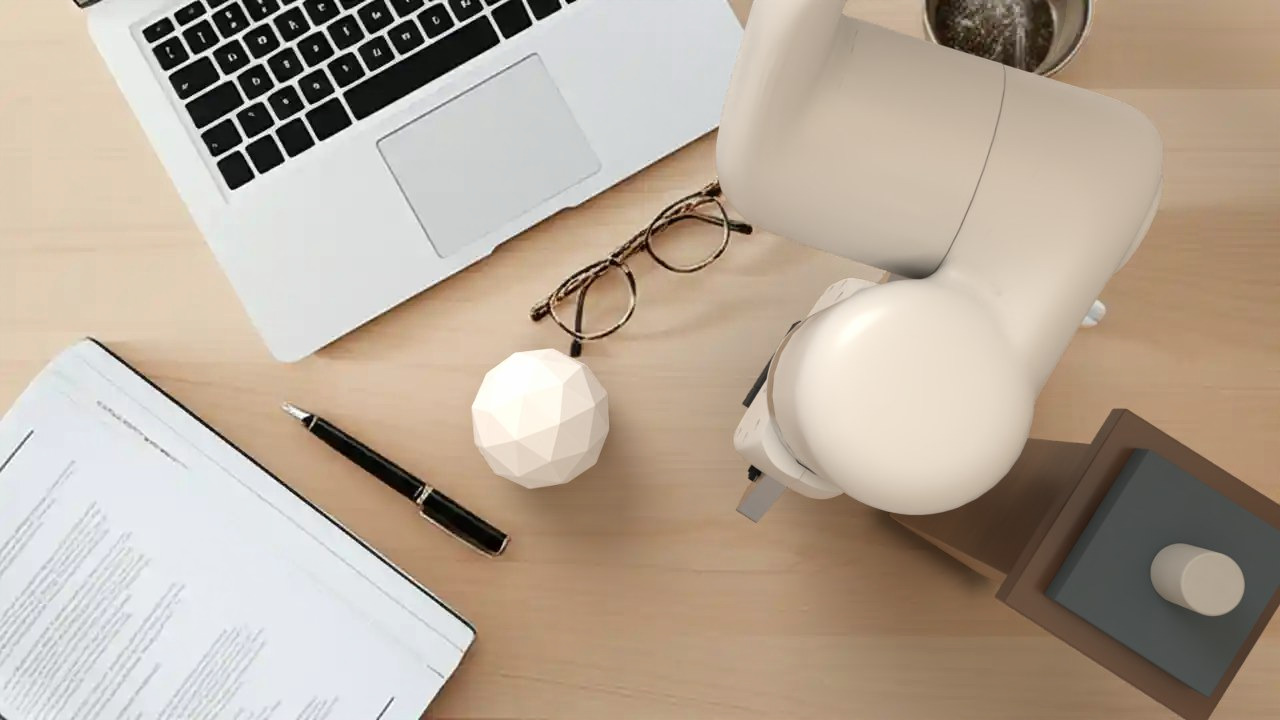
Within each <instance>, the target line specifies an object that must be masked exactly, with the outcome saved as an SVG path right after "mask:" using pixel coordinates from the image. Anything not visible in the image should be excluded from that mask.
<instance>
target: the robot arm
mask: <svg viewBox="0 0 1280 720" xmlns="http://www.w3.org/2000/svg"><path fill="white" fill-rule="evenodd" d="M847 2H848V0H752V5H751V8H750V12H749V14H748V18H747V22H746V24H745V28H744V32H743V35H742V38H741V42H740V45H739V49H738V52H737V56H736V59H735V63H734V65H733V69H732V72H731V76H730V79H729V83H728V86H727V89H726V94H725V97H724V100H723V101H724V102H723V104H722V109H721V113H720V120H719V125H718V132H717V138H716V144H715V166H716V175H717V180H718V183H719V184H718V185H719V187H720V191H721V193H722V194H723V196H724V198H725V201H726V202H727V203H728V205H730V207H731V208H732V209H733V210H734V212H736V213H737V214H738V215H739V216H740V217H741V218H742V219H743V220H744V221H746V222H747V223H749V224H751V225H752V226H754V227H756V228H758V229H759V230H762V231H763V232H764V231H765V232H766V233H770V234H771V235H775V236H778V237H780V238H783V239H786V240H788V241H791V242H794V243H797V244H799V245H803V246H805V247H809V248H812V249H815V250H817V251H822V252H823V253H826V254H827V253H828V254H830V255H833V256H837V257H840V258H843V259H847V260H850V261H854V262H856V263H860V264H862V265H866V266H869V267H873V268H875V269H879V270H882V271H884V272H885V273H884V274H883V275H882V276H881V278H880V279H879V280H878V283H877V282H874V281H871V280H867V279H863V278H857V277H847V278H844V279H840V280H838V281H836V282H835V283H833V284H830V286H828V287H827V288H826V289H825V291H824V292H823V293H822V295H821V296H820V297H819V298H818V300H817V301H816V302H815V304H814V305H813V307H812V308H811V310H810V312H809V313H808V314H807V316H806V317H805V318H804V319H803V320H800V321H801V322H800V323H799V324H798V325H796V326H795V327H794V328H793V329H792V330H791V331H790V333H789V334H788V335H787V336H786V337H785V336H784V337H785V338H784V337H783V339H782V340H781V342H780V343H781V344H780V343H779V345H778V346H779V347H778V346H777V348H776V349H775V351H776V352H775V351H774V353H775V354H774V353H773V354H774V357H773V359H772V361H771V364H770V367H769V371H768V375H767V380H766V381H765V383H764V384H763V386H762V388H761V389H760V391H759V392H758V394H757V395H756V397H755V399H754V400H753V402H752V403H751V405H750V407H749V408H747V410H746V411H745V413H744V415H743V416H742V418H741V420H740V421H739V424H738V425H737V428H736V429H735V431H734V434H733V440H732V441H733V443H732V444H733V449H734V451H735V453H737V454H738V455H739V456H740V457H741V458H742V459H744V460H745V461H746V462H747V463H748V464H750V466H749V467H748V469H747V472H748V475H747V479H748V480H749V481H751V482H750V483H749V484H748V485H747V487H746V489H745V490H744V493H743V494H742V496H741V498H740V500H739V502H738V504H737V506H736V508H735V511H736V512H737V513H739V514H741V515H742V516H744V517H745V518H747V519H749V520H750V521H752V522H753V523H755V524H757V523H758V522H759V521H760V520H761V518H762V517H763V516H764V515H765V514H766V513H767V512H768V510H769V509H770V508H771V507H772V506H773V505H774V504H775V503H776V501H777V500H778V499H779V498H780V497H781V496H782V495H783V493H785V491H786V490H788V488H789V489H790V490H791V491H793V492H796V493H797V494H799V495H802V496H804V497H806V498H809V499H813V500H814V499H815V500H827V499H832V498H835V497H838V496H841V495H842V494H846V495H848V496H849V497H850V498H852V499H854V500H856V501H858V502H860V503H862V504H864V505H866V506H869V507H872V508H875V509H878V510H882V511H885V512H889V513H890V512H893V513H898V514H907V515H926V514H935V513H940V512H945V511H948V510H952V509H955V508H958V507H960V506H962V505H964V504H967V503H969V502H971V501H973V500H975V499H977V498H978V497H980V496H981V495H983V494H984V493H986V492H987V491H988V490H990V489H991V488H993V487H994V486H995V485H996V484H997V483H998V482H999V481H1000V480H1001V479H1002V478H1003V477H1004V476H1005V475H1006V474H1007V473H1008V472H1009V470H1010V469H1011V468H1012V466H1013V465H1014V463H1015V462H1016V460H1017V459H1018V458H1019V456H1020V454H1021V452H1022V450H1023V448H1024V445H1025V443H1026V441H1027V439H1028V438H1029V437H1030V432H1031V428H1032V424H1033V420H1034V416H1035V404H1036V403H1037V400H1038V399H1039V396H1040V394H1041V393H1042V391H1043V390H1044V387H1045V386H1046V384H1047V382H1048V381H1049V379H1050V377H1051V375H1052V374H1053V372H1054V371H1055V369H1056V367H1057V365H1058V364H1059V362H1060V360H1061V358H1062V357H1063V355H1064V354H1065V352H1066V350H1067V349H1068V347H1069V345H1070V343H1071V342H1072V340H1073V338H1074V337H1075V335H1076V334H1077V332H1078V330H1079V329H1080V327H1081V325H1082V324H1083V322H1084V320H1085V319H1086V317H1087V316H1088V314H1089V313H1090V311H1091V309H1092V308H1093V306H1094V304H1095V303H1096V301H1097V300H1098V298H1099V296H1100V295H1101V294H1102V292H1103V291H1104V289H1105V287H1106V286H1107V284H1108V283H1109V281H1110V280H1111V278H1112V277H1113V276H1114V275H1116V274H1117V272H1119V271H1120V270H1122V268H1123V267H1124V266H1125V265H1126V264H1127V262H1128V261H1129V260H1130V259H1131V258H1132V257H1133V256H1134V254H1135V252H1136V251H1137V250H1138V249H1139V247H1140V245H1141V244H1142V243H1143V241H1144V239H1145V238H1146V236H1147V234H1148V232H1149V229H1150V228H1151V226H1152V225H1153V222H1154V219H1155V217H1156V214H1157V212H1158V209H1159V206H1160V203H1161V200H1162V195H1163V190H1164V177H1163V173H1162V172H1163V168H1164V160H1165V159H1164V157H1165V154H1164V153H1165V151H1164V144H1163V139H1162V136H1161V133H1160V131H1159V129H1158V127H1157V125H1156V124H1155V123H1154V121H1152V119H1150V118H1149V116H1148V115H1146V114H1145V113H1144V112H1143V111H1141V110H1140V109H1138V108H1137V107H1135V106H1133V105H1131V104H1129V103H1126V102H1124V101H1122V100H1119V99H1117V98H1114V97H1112V96H1110V95H1105V94H1103V93H1099V92H1096V91H1093V90H1090V89H1087V88H1085V87H1084V88H1083V87H1080V86H1077V85H1073V84H1069V83H1067V82H1063V81H1060V80H1057V79H1053V78H1050V77H1046V76H1044V75H1040V74H1038V73H1037V74H1036V73H1033V72H1030V71H1026V70H1024V69H1019V68H1017V67H1013V66H1010V65H1007V64H1003V63H1002V62H998V61H994V60H992V59H988V58H985V57H981V56H978V55H974V54H971V53H967V52H964V51H962V50H958V49H955V48H952V47H949V46H945V45H942V44H939V43H936V42H933V41H929V40H926V39H923V38H920V37H916V36H913V35H911V34H908V33H904V32H901V31H897V30H895V29H891V28H889V27H886V26H883V25H880V24H877V23H874V22H869V21H866V20H863V19H860V18H857V17H852V16H849V15H846V14H844V13H843V11H844V9H845V6H846V4H847Z"/></svg>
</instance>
